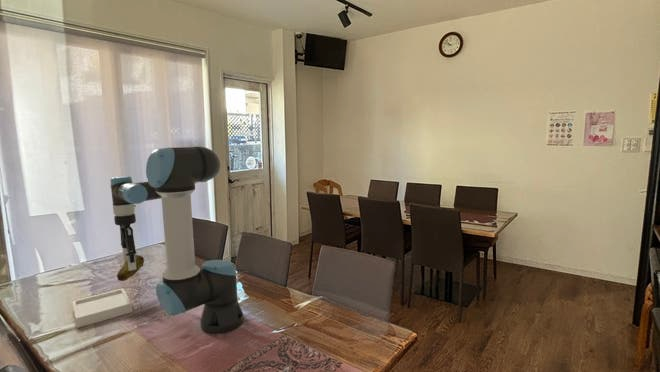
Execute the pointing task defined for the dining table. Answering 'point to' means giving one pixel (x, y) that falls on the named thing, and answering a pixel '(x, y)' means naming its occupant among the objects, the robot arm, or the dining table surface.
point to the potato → (125, 272)
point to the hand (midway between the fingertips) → (130, 266)
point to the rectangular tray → (101, 307)
